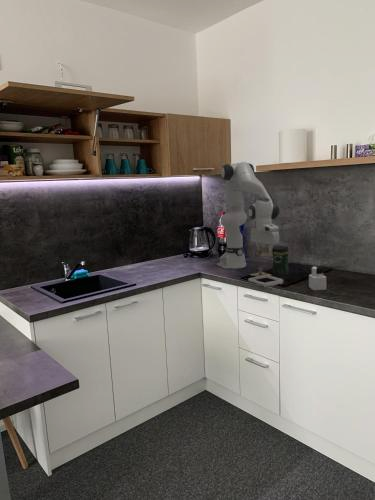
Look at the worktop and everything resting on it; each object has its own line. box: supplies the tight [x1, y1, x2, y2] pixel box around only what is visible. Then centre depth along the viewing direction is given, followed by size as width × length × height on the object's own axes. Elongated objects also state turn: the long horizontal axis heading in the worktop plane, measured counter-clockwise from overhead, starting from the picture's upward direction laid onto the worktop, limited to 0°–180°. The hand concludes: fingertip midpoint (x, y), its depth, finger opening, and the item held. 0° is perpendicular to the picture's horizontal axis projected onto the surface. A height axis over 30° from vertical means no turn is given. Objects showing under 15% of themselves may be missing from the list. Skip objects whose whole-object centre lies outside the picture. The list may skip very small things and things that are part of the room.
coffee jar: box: [271, 245, 290, 276], centre depth 241 cm, size 10×8×19 cm
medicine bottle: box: [308, 265, 327, 291], centre depth 209 cm, size 7×7×12 cm
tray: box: [247, 275, 284, 288], centre depth 225 cm, size 15×14×2 cm
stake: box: [249, 266, 272, 277], centre depth 241 cm, size 10×10×6 cm
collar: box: [256, 246, 273, 258], centre depth 223 cm, size 7×8×5 cm
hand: (264, 250), depth 223 cm, fingers closed on collar, 7 cm apart
